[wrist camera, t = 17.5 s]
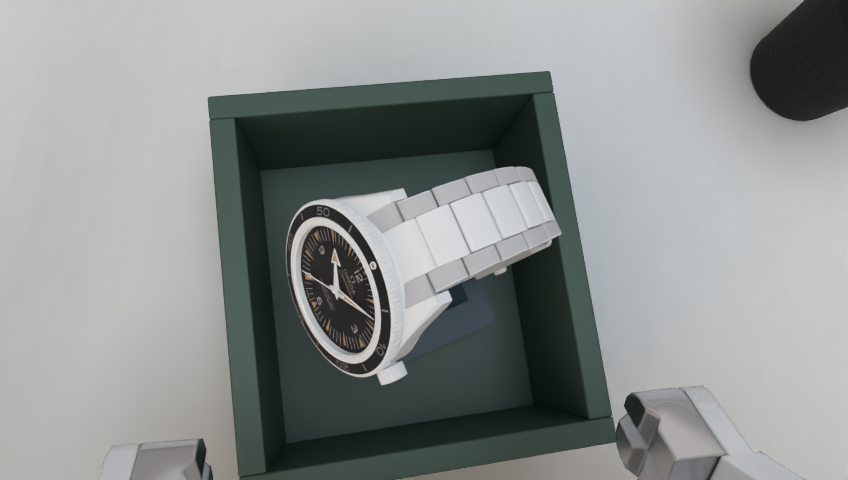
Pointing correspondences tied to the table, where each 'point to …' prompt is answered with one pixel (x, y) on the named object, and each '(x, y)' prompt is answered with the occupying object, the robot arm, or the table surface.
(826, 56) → the drinking cup
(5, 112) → the table surface
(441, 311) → the watch
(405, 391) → the open box
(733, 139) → the table surface
